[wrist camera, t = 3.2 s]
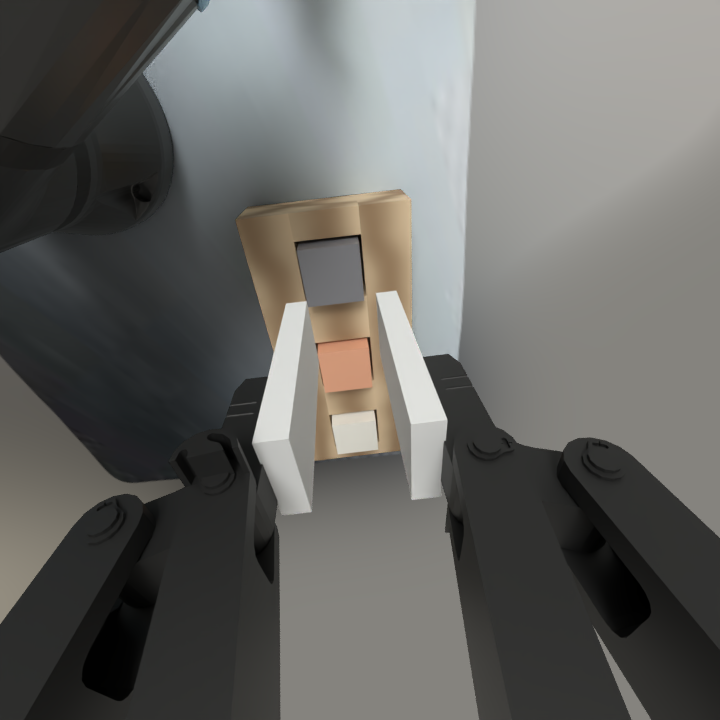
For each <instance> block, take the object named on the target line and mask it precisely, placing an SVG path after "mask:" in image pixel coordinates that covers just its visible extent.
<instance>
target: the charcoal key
mask: <svg viewBox="0 0 720 720" xmlns="http://www.w3.org/2000/svg"><path fill="white" fill-rule="evenodd" d="M297 255H298V260H299V265H300V270H301V275H302V280H303V285H304V290H305V295H306V300H307V304H308V307H315V306H324V305H332V304H341V303H349V302H358V301H364V291H363V281H362V270H361V259H360V248H359V241H358V237H357V235H349V236H340V237H332V238H323V239H315V240H306V241H299V244H298V248H297Z"/></svg>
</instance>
